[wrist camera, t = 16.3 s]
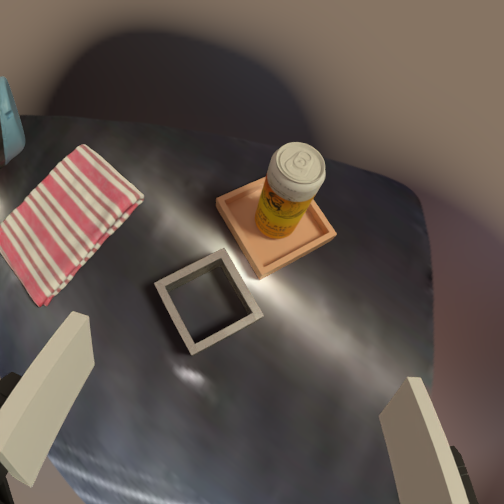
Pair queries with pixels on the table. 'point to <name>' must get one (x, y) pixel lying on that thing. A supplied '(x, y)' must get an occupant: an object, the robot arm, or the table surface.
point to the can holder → (194, 272)
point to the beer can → (289, 189)
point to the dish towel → (65, 222)
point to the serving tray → (265, 248)
